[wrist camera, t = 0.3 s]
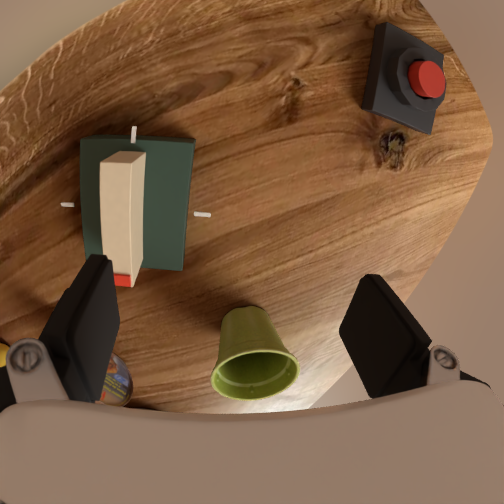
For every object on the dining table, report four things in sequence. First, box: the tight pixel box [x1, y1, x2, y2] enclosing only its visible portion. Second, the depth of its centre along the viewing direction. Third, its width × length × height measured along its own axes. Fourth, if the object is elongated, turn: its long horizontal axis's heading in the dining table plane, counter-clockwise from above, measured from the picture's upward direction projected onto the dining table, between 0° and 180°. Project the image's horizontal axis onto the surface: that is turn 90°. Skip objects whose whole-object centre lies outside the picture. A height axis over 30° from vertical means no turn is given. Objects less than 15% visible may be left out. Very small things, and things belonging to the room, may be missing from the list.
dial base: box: [61, 126, 211, 271], centre depth 24 cm, size 14×14×3 cm
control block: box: [361, 22, 446, 135], centre depth 21 cm, size 10×8×4 cm
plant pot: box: [211, 306, 300, 401], centre depth 31 cm, size 9×9×9 cm
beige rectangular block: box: [100, 151, 146, 287], centre depth 21 cm, size 10×2×5 cm, turn 170°
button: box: [407, 61, 445, 98], centre depth 18 cm, size 4×4×2 cm
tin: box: [95, 352, 133, 407], centre depth 30 cm, size 15×3×8 cm, turn 33°
